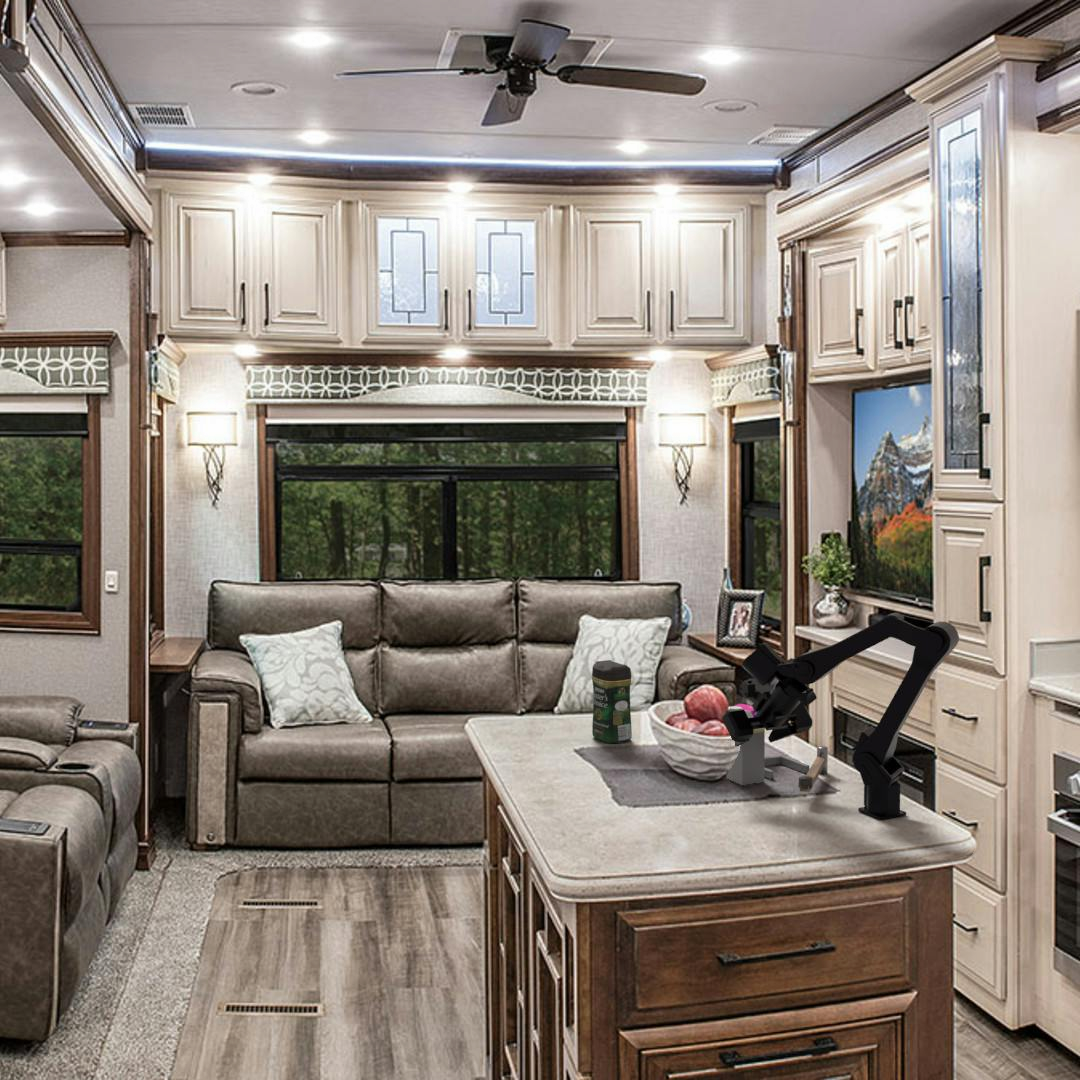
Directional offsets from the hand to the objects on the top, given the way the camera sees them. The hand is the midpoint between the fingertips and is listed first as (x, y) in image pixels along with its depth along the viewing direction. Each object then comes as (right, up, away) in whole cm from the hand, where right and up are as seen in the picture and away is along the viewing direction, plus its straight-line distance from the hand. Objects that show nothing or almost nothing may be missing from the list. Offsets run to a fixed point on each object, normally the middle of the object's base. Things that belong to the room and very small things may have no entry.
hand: (751, 743), depth 254 cm
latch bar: (+12, -6, -5) cm, 14 cm away
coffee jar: (-27, -5, +37) cm, 46 cm away
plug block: (-1, -8, +2) cm, 8 cm away
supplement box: (+2, -7, +20) cm, 21 cm away
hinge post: (+16, -7, +7) cm, 19 cm away
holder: (+7, -7, +9) cm, 14 cm away
